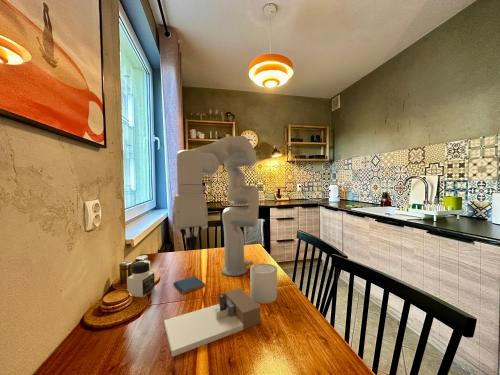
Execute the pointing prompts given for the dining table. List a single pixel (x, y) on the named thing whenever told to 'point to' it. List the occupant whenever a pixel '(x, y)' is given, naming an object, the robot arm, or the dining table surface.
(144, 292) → the medicine bottle
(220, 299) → the bolt
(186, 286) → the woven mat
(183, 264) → the dining table surface
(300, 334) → the dining table surface
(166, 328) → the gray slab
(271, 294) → the mug
